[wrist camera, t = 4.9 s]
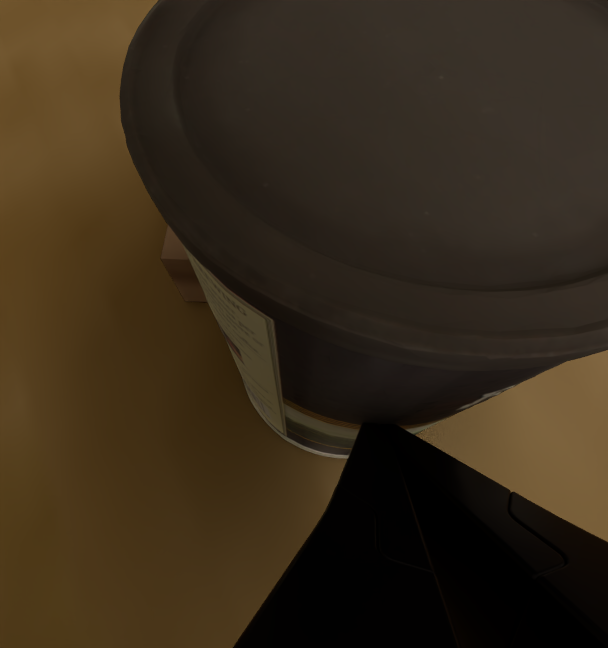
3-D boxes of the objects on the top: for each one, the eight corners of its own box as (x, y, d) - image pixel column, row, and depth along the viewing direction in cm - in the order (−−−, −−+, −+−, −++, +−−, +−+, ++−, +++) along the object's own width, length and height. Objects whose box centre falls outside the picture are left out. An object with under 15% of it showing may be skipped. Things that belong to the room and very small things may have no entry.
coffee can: (477, 331, 20) (828, 26, 7) (374, 509, 16) (693, 581, 3) (317, 234, 22) (349, -131, 9) (195, 371, 18) (-36, 91, 6)
